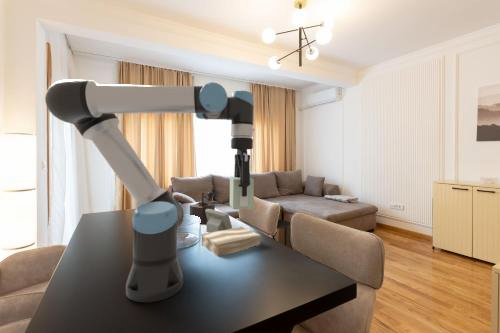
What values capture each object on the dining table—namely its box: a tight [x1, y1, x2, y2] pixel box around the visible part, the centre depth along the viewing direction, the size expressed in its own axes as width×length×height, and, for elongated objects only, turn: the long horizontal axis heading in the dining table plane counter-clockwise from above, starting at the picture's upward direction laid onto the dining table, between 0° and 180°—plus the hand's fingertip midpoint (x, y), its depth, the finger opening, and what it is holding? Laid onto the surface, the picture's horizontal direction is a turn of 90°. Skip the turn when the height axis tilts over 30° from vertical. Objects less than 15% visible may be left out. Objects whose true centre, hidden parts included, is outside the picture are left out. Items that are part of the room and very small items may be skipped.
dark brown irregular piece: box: [189, 191, 216, 225], centre depth 140 cm, size 16×11×18 cm
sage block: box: [229, 176, 255, 210], centre depth 87 cm, size 7×7×10 cm
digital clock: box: [205, 209, 233, 233], centre depth 123 cm, size 16×9×11 cm, turn 37°
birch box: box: [200, 226, 262, 257], centre depth 105 cm, size 14×20×5 cm
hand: (241, 203), depth 87 cm, fingers closed on sage block, 7 cm apart
